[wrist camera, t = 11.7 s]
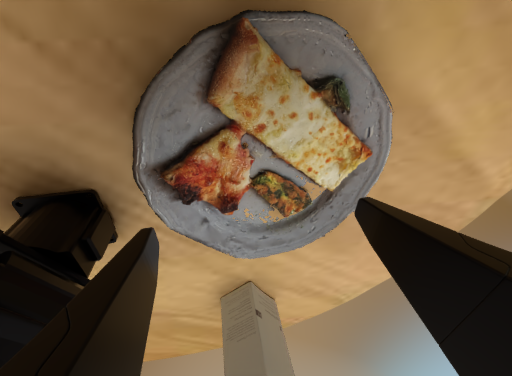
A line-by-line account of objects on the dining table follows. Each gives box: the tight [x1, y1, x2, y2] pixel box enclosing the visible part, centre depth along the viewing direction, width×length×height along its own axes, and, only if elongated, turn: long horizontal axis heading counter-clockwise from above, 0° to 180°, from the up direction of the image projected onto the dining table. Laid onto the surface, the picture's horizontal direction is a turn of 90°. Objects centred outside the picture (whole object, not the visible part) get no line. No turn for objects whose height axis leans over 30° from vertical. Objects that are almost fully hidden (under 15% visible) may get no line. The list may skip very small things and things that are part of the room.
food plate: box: [132, 10, 394, 259], centre depth 22 cm, size 25×23×4 cm
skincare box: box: [221, 282, 295, 376], centre depth 30 cm, size 8×6×15 cm
